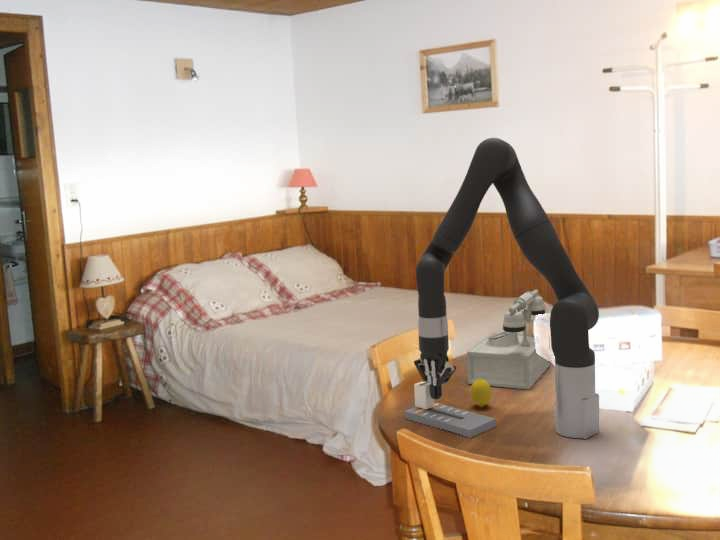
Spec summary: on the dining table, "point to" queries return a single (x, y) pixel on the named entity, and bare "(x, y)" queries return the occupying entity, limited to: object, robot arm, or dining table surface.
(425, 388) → the fader tab
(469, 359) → the pale grey angular base
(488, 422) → the console board
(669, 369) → the dining table surface
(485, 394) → the lemon
